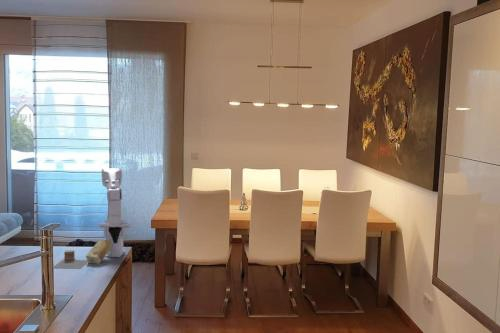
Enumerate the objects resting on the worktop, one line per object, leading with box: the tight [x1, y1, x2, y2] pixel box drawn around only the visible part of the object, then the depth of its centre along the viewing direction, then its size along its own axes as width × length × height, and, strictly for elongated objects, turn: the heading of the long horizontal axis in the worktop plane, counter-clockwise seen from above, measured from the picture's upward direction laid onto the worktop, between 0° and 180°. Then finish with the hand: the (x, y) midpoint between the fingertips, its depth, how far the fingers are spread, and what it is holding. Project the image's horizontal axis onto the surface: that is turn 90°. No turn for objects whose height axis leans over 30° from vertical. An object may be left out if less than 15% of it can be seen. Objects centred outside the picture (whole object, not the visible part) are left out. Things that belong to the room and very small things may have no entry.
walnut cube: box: [63, 249, 75, 261], centre depth 230 cm, size 4×4×4 cm
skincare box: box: [85, 238, 112, 265], centre depth 228 cm, size 6×4×12 cm
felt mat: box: [53, 259, 88, 270], centre depth 223 cm, size 12×13×1 cm
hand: (115, 242), depth 223 cm, fingers closed
